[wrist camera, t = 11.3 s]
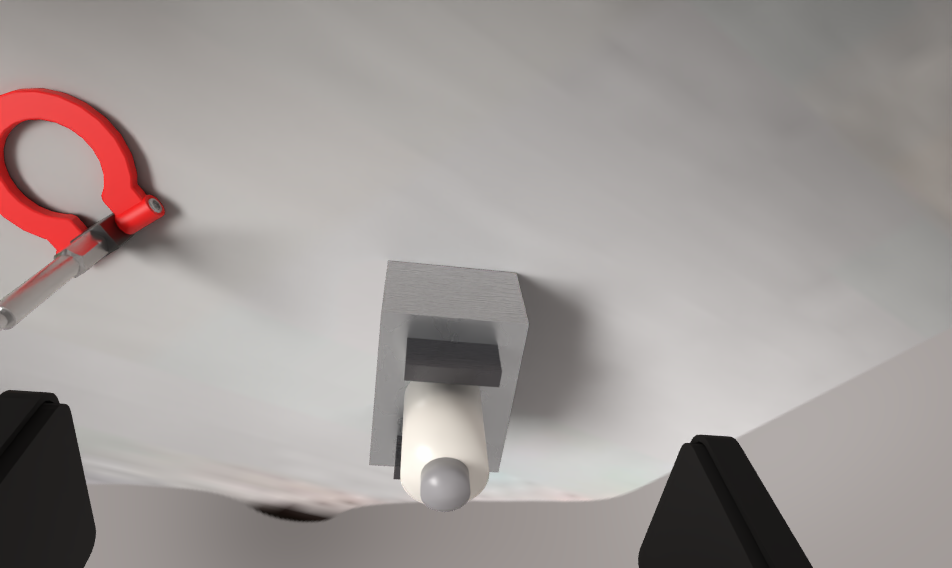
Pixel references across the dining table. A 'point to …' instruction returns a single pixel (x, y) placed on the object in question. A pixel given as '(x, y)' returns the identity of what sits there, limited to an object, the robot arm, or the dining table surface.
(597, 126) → the dining table surface
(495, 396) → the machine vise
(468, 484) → the bottle
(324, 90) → the dining table surface
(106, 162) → the tow hook
